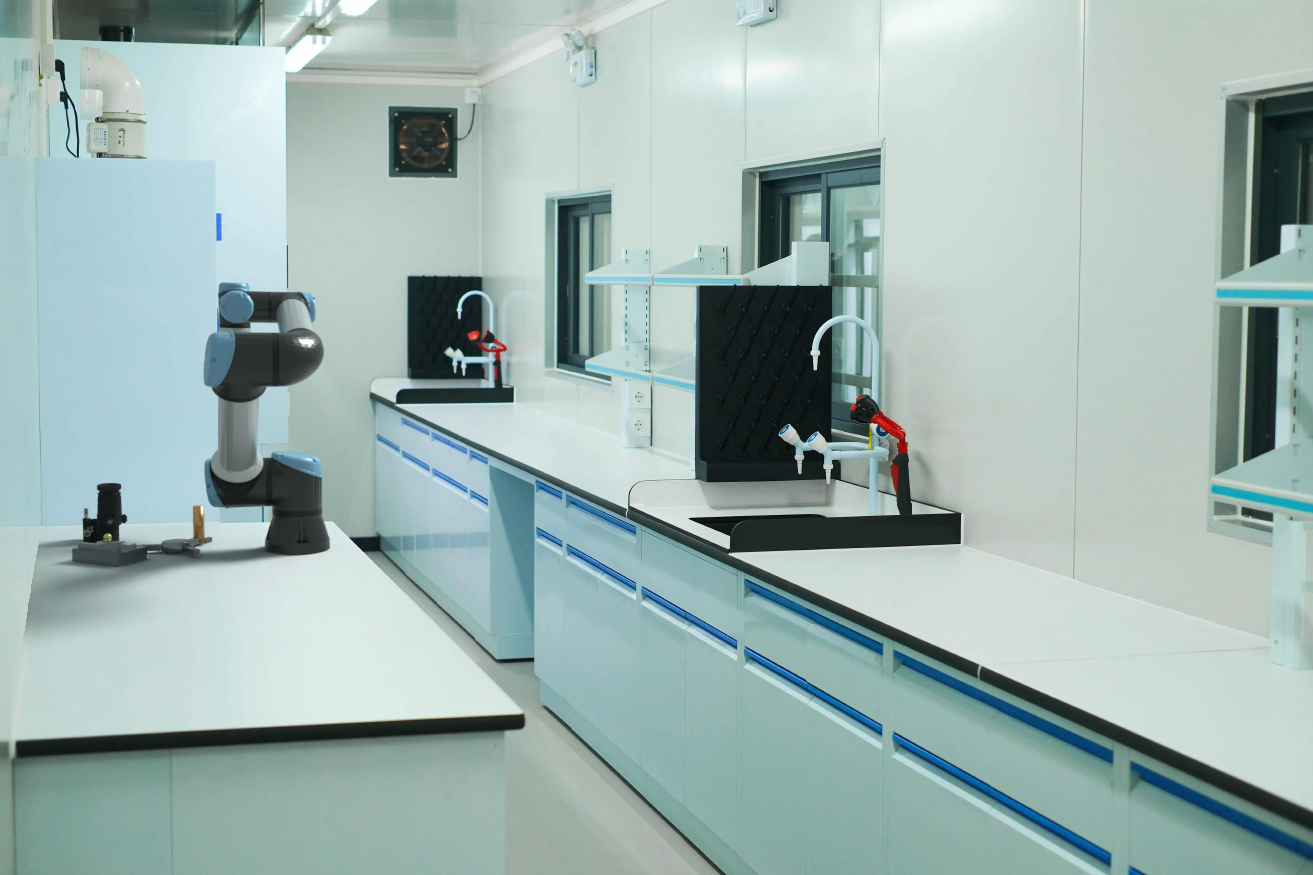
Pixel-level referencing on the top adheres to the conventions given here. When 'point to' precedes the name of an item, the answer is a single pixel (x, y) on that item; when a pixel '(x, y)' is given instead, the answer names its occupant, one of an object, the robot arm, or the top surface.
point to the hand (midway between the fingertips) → (236, 439)
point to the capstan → (184, 544)
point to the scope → (105, 514)
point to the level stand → (109, 552)
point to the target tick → (208, 539)
